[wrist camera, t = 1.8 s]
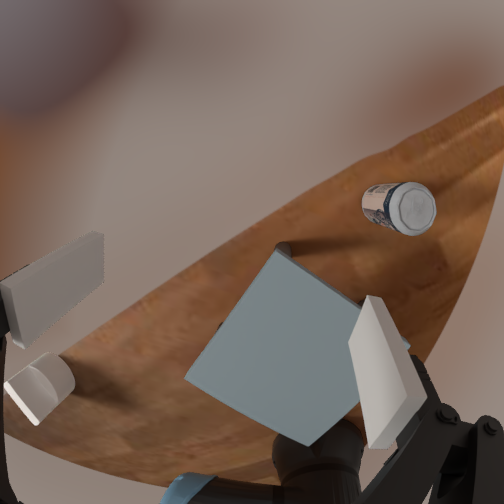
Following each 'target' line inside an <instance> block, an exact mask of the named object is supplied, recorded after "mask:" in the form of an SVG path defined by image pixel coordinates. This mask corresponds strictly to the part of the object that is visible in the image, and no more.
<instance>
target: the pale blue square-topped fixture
mask: <svg viewBox="0 0 504 504" xmlns="http://www.w3.org/2000/svg"><path fill="white" fill-rule="evenodd" d="M364 302H365V300H362V301H360V302H359V303H358V304H356V303H355V302H353V301H352V300H351V299H349V298H348V297H346V296H345V295H343V294H342V293H341V292H339V291H338V290H336V289H335V288H333V287H332V286H331V285H329V284H328V283H326V282H325V281H324V280H322V279H321V278H319V277H318V276H316V275H315V274H313V273H312V272H311V271H309V270H308V269H306V268H305V267H303V266H302V265H301V264H299V263H298V262H296V261H295V260H293V259H292V257H291V247H290V245H289V244H288V243H286V242H279V243H278V244H277V245H276V246H275V249H274V252H273V254H272V255H271V257H270V258H269V260H268V261H267V262H266V264H265V265H264V267H263V268H262V269H261V271H260V272H259V274H258V275H257V276H256V278H255V279H254V281H253V282H252V283H251V285H250V286H249V288H248V289H247V291H246V292H245V293H244V295H243V296H242V297H241V299H240V300H239V302H238V303H237V304H236V306H235V307H234V309H233V310H232V311H231V313H230V314H229V316H228V317H227V318H226V320H225V321H224V322H222V323H221V324H220V325H219V327H218V329H217V331H216V333H215V335H214V336H213V338H212V339H211V340H210V342H209V343H208V345H207V346H206V347H205V349H204V350H203V351H202V353H201V354H200V356H199V357H198V358H197V360H196V361H195V362H194V364H193V365H192V366H191V368H190V369H189V371H188V372H187V374H186V376H185V377H184V379H186V380H187V381H189V382H190V383H192V384H193V385H195V386H196V387H198V388H200V389H201V390H203V391H204V392H206V393H208V394H209V395H211V396H213V397H214V398H216V399H218V400H219V401H221V402H223V403H224V404H226V405H228V406H230V407H231V408H233V409H235V410H237V411H239V412H240V413H242V414H244V415H246V416H248V417H249V418H251V419H253V420H255V421H257V422H259V423H261V424H263V425H265V426H266V427H268V428H270V429H272V430H274V431H276V432H278V433H280V434H282V435H285V436H287V437H289V438H291V439H293V440H295V441H297V442H299V443H302V444H304V445H306V446H310V445H311V444H312V443H313V442H315V441H316V440H317V439H318V438H319V437H321V436H322V435H323V434H324V433H325V432H326V431H328V430H329V429H330V428H331V427H332V426H333V425H334V424H336V423H337V422H338V421H339V420H340V419H341V418H342V417H343V416H344V415H345V414H347V413H348V412H349V411H350V410H351V409H352V408H353V407H354V406H355V405H356V404H357V403H358V402H359V401H360V396H359V391H358V386H357V381H356V376H355V371H354V367H353V362H352V357H351V353H350V348H349V344H348V341H349V339H350V337H351V334H352V332H353V329H354V327H355V325H356V322H357V320H358V317H359V315H360V312H361V310H362V307H363V304H364ZM400 336H401V335H400ZM401 338H402V340H403V342H404V345H405V347H406V349H407V350H408V349H409V348H410V346H411V345H410V344H409V343H408V341H407V340H406V339H405V338H404V337H402V336H401Z"/></svg>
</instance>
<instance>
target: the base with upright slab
mask: <svg viewBox="0 0 504 504" xmlns="http://www.w3.org/2000/svg"><path fill="white" fill-rule="evenodd" d="M4 388H5V389H6V391H7V392H8V393H9V395H10V396H11V397H12V399H13V400H14V401H15V402H16V404H17V405H18V406H19V407H20V409H21V410H22V411H23V412H24V414H25V415H26V416H27V417H28V418H29V420H30V421H31V422H32V423H33V424H34V425H38V424H39V423H40V422H41V421H42V420H43V419H44V418H45V417H46V416H47V415H48V414H49V413H50V412H51V411H52V410H53V409H54V408H55V407H57V406H58V405H59V404H60V403H61V402H62V401H63V400H64V399H65V398H66V397H67V396H68V395H69V394H70V393H71V392H72V391H73V390H74V388H75V379H74V376H73V374H72V372H71V370H70V368H69V367H68V365H67V364H66V363H65V362H64V361H63V360H62V359H61V358H60V357H59V356H57V355H55V354H53V353H50V352H47V353H45V354H43V355H42V356H40V357H39V358H38V359H36V360H35V361H33V362H32V363H31V364H29V365H28V366H27V367H25V368H24V369H23V370H21V371H20V372H18V373H17V374H16V375H14V376H13V377H12V378H10V379H9V380H8V381H7V382H5V383H4Z"/></svg>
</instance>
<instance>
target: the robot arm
mask: <svg viewBox="0 0 504 504" xmlns="http://www.w3.org/2000/svg"><path fill="white" fill-rule="evenodd" d="M102 283H104V234H102V233H98V232H94V231H91V232H89V233H87V234H85V235H83V236H82V237H80V238H78V239H76V240H74V241H72V242H70V243H68V244H66V245H64V246H63V247H60V248H59V249H57V250H55V251H53V252H51V253H49V254H48V255H46V256H44V257H42V258H40V259H39V260H37V261H35V262H33V263H31V264H29V265H26V266H25V267H23V268H21V269H20V270H19V271H16V272H14V273H13V275H12V274H11V275H9V276H8V277H6V278H4V279H3V280H1V281H0V504H23V503H22V502H21V501H19V502H18V501H17V498H16V496H15V494H14V492H13V490H12V488H11V486H10V483H9V479H8V471H7V463H6V454H5V442H4V423H3V386H4V365H5V354H6V344H7V341H6V337H5V334H6V333H8V332H9V331H10V333H11V336H12V340H13V343H15V344H16V345H18V346H20V347H22V348H23V349H26V348H28V347H29V346H30V345H31V344H32V343H33V342H34V341H35V340H36V339H37V338H39V337H40V336H41V335H42V334H43V333H44V332H45V331H46V330H47V329H48V328H50V327H51V326H52V325H53V324H55V323H56V322H57V321H58V320H59V319H60V318H61V317H63V316H64V315H65V314H66V313H67V312H68V311H70V310H71V309H72V308H73V307H74V306H76V305H77V304H78V303H79V302H80V301H81V300H83V299H84V298H85V297H86V296H88V295H89V294H90V293H91V292H92V291H93V290H95V289H96V288H97V287H99V286H100V285H101V284H102ZM348 344H349V348H350V353H351V357H352V362H353V367H354V371H355V376H356V381H357V386H358V391H359V396H360V401H361V407H362V412H363V418H364V423H365V429H366V435H367V441H368V447H369V449H388V448H389V447H390V446H391V445H392V443H393V442H394V441H395V440H396V442H397V446H398V449H396V451H395V452H394V453H393V454H392V455H391V456H390V457H389V458H388V460H387V461H386V462H385V463H384V466H383V468H382V469H381V470H380V471H379V473H378V474H377V475H376V477H375V478H374V479H373V480H372V481H371V482H370V484H369V485H368V486H367V487H366V488H365V490H364V491H363V492H361V486H360V481H359V475H358V474H359V469H360V464H361V458H362V455H363V451H364V443H363V439H362V435H361V432H360V431H359V429H358V428H357V427H356V426H355V425H354V424H352V423H351V422H349V421H346V420H344V419H340V420H339V421H338V422H337V423H336V424H334V425H333V426H332V427H331V428H330V429H329V430H328V431H326V432H325V433H324V434H323V435H322V436H321V437H319V438H318V439H317V440H316V441H315V442H313V443H312V444H311V445H310V446H306V445H304V444H302V443H299V442H297V441H295V440H293V439H291V438H289V437H287V436H285V435H282V434H280V433H279V434H278V436H277V437H276V439H275V440H274V443H273V449H272V460H273V464H274V466H275V468H276V469H277V472H278V476H279V479H280V482H281V486H277V485H268V484H259V483H251V482H244V481H237V480H231V479H225V478H219V477H218V476H217V475H212V476H210V475H204V474H198V473H192V472H187V473H183V474H181V475H180V476H178V477H177V478H176V479H175V480H174V481H173V482H172V483H171V485H170V486H169V487H168V489H167V491H166V492H165V494H164V496H163V498H162V500H161V502H160V504H422V502H423V501H424V499H425V497H426V496H427V494H428V492H429V490H430V489H431V487H432V485H433V487H432V491H431V495H430V499H429V503H428V504H504V431H503V427H502V426H501V424H500V422H499V421H497V419H495V418H493V417H491V416H487V415H484V416H481V417H480V418H479V419H478V420H477V422H476V423H475V424H471V423H467V422H463V421H461V420H460V417H459V414H458V413H457V412H456V410H455V409H454V408H452V407H451V406H449V405H447V404H445V403H441V401H440V399H439V397H438V394H437V392H436V390H435V388H434V386H433V384H432V382H431V381H430V377H429V375H428V374H427V370H426V368H425V366H424V364H423V363H422V362H421V361H420V360H419V359H418V357H417V356H416V355H409V353H408V351H407V349H406V347H405V345H404V342H403V340H402V338H401V336H400V334H399V332H398V330H397V328H396V326H395V324H394V322H393V320H392V318H391V316H390V314H389V312H388V310H387V308H386V306H385V304H384V302H383V300H382V298H380V297H375V296H370V295H367V297H366V299H365V302H364V304H363V307H362V310H361V312H360V315H359V317H358V320H357V322H356V325H355V327H354V329H353V332H352V334H351V337H350V339H349V341H348Z"/></svg>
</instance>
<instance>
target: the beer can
mask: <svg viewBox="0 0 504 504" xmlns="http://www.w3.org/2000/svg"><path fill="white" fill-rule="evenodd" d="M362 209H363V212H364V214H365V216H366V217H367V218H368V219H369V220H370V221H372V222H373V223H376V224H379V225H382V226H384V227H387V228H390V229H393V230H395V231H398V232H401V233H403V234H406V235H410V236H416V235H420V234H422V233H424V232H425V231H427V230H428V229H429V228H430V227H431V226H432V223H433V221H434V219H435V216H436V213H437V212H436V204H435V199H434V197H433V195H432V194H431V192H430V191H429V190H428V189H427V188H426V187H425V186H423V185H422V184H419V183H416V182H405V183H391V184H378V185H374V186H372V187H370V188H369V189H368V190H367V191H366V192H365V194H364V196H363V198H362Z"/></svg>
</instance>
